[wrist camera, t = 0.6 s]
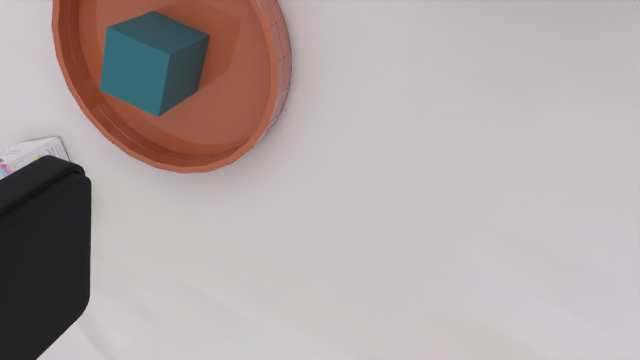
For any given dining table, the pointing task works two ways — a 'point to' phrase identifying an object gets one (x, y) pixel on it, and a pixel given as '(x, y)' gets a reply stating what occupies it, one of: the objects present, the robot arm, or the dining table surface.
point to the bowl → (214, 87)
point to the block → (152, 62)
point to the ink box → (29, 154)
